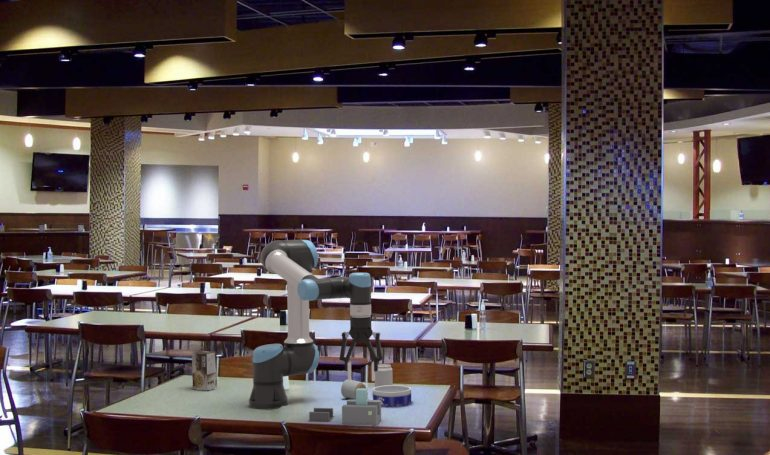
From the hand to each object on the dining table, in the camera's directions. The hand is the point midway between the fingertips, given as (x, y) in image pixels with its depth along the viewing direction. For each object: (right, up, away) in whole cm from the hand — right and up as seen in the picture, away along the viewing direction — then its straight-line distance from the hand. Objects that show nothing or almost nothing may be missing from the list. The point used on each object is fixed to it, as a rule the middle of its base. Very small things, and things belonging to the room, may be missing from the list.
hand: (361, 380), depth 301 cm
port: (0, -15, 0) cm, 15 cm away
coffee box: (-70, -16, +66) cm, 97 cm away
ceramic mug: (-3, -15, +43) cm, 46 cm away
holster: (-14, -15, +3) cm, 21 cm away
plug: (0, -15, 0) cm, 15 cm away
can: (+8, -15, +51) cm, 54 cm away
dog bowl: (+11, -15, +33) cm, 38 cm away
